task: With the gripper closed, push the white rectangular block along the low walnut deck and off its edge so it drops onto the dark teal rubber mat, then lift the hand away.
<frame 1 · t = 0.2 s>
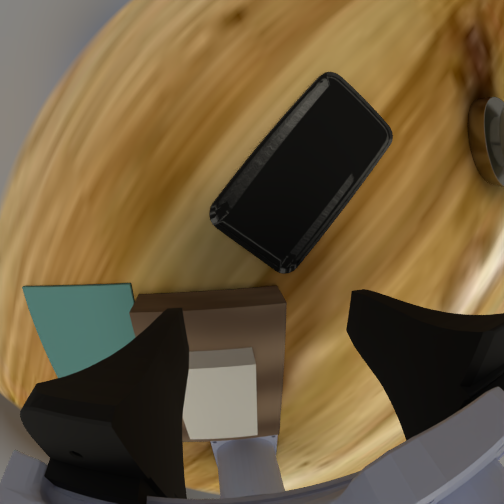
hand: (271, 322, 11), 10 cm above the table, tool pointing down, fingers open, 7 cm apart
deck: (216, 369, 23), on the table
white rectangular block: (217, 400, 19), point 4 cm above the table, touching deck
phone: (306, 168, 20), on the table
mat: (97, 368, 21), on the table
lamp: (488, 140, 20), on the table
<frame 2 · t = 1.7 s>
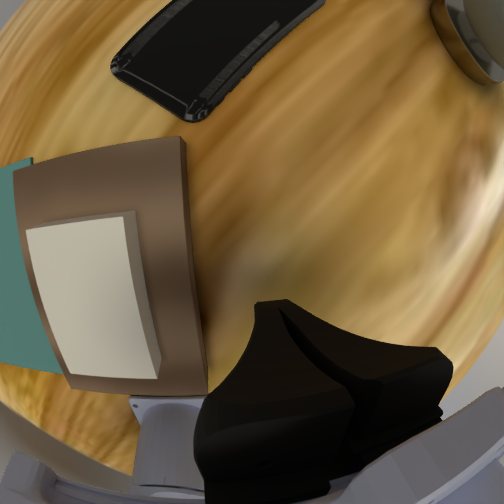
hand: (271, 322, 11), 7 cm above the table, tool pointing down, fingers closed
deck: (115, 276, 16), on the table
white rectangular block: (93, 302, 13), point 4 cm above the table, touching deck
phone: (225, 23, 13), on the table
mat: (2, 280, 15), on the table
lamp: (463, 40, 14), on the table
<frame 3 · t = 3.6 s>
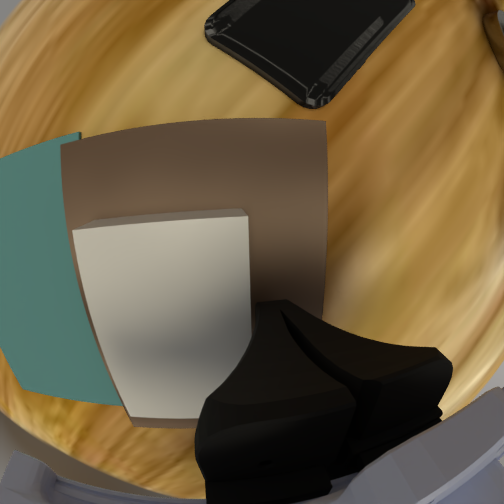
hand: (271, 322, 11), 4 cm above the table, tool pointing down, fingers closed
deck: (202, 289, 14), on the table
white rectangular block: (173, 330, 10), point 4 cm above the table, touching deck, gripper
phone: (326, 8, 11), on the table
mat: (28, 295, 13), on the table
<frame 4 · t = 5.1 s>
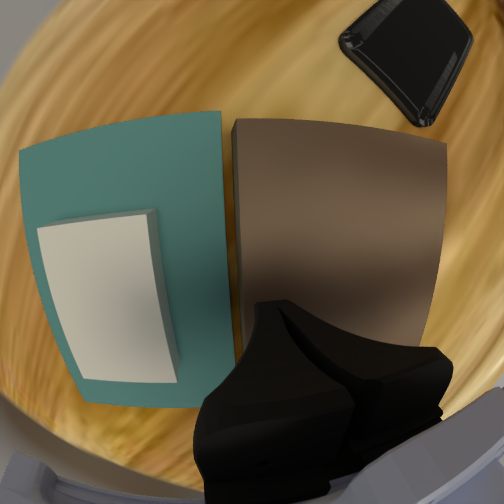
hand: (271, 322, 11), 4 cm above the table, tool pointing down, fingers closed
deck: (334, 277, 15), on the table
white rectangular block: (109, 304, 12), point 1 cm above the table, tilted 180°, touching mat
phone: (416, 38, 12), on the table
mat: (122, 293, 14), on the table
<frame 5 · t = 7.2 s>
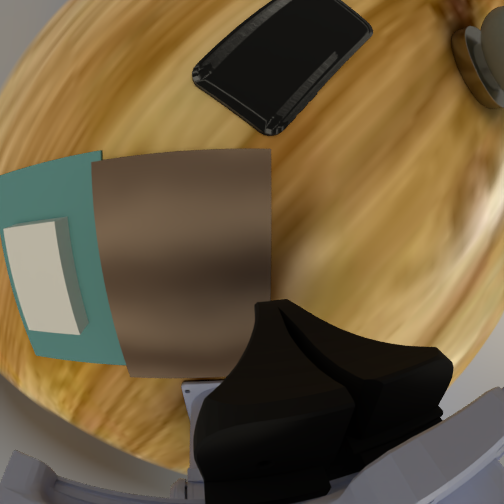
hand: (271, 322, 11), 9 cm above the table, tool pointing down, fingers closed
deck: (187, 267, 19), on the table
white rectangular block: (43, 277, 17), point 1 cm above the table, tilted 180°, touching mat
phone: (290, 48, 16), on the table
mat: (53, 272, 18), on the table
lamp: (476, 68, 17), on the table
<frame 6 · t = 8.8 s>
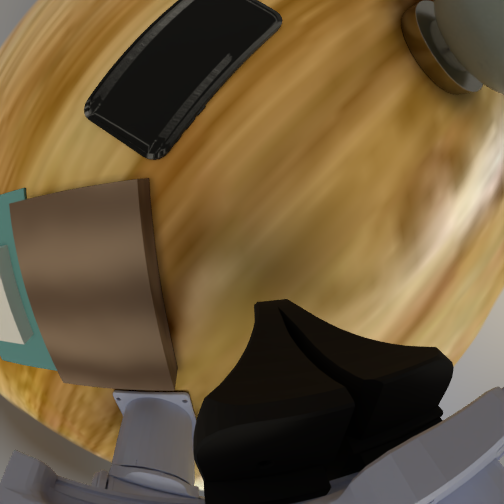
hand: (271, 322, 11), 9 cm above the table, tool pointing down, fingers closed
deck: (97, 289, 19), on the table
phone: (183, 59, 16), on the table
mat: (4, 290, 17), on the table
lamp: (438, 49, 16), on the table
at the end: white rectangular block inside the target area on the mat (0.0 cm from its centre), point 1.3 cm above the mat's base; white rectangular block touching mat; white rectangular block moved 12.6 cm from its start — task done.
